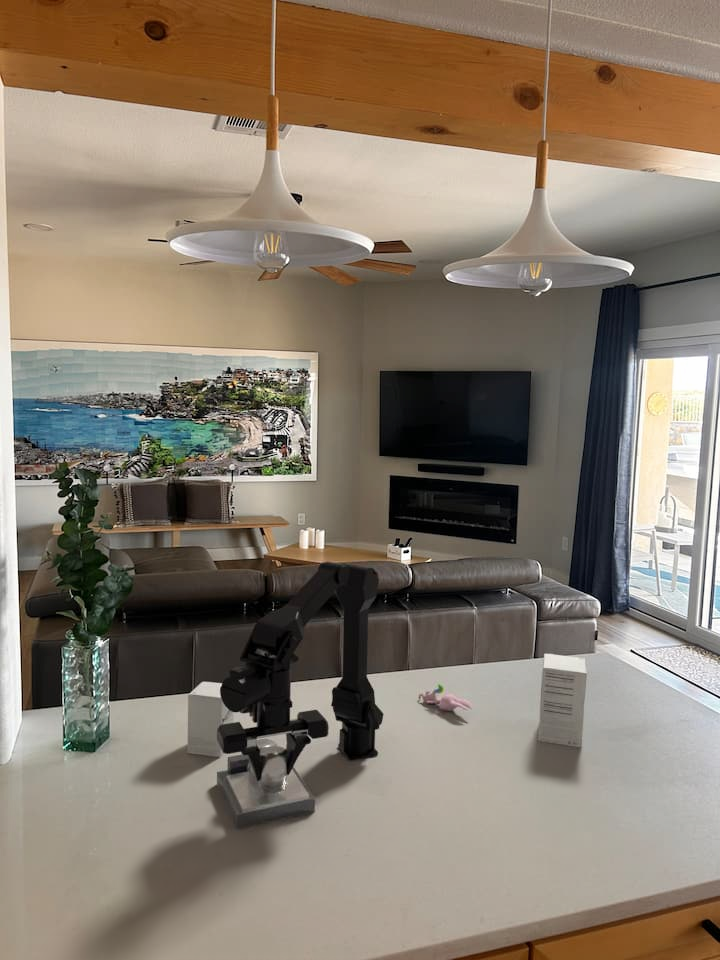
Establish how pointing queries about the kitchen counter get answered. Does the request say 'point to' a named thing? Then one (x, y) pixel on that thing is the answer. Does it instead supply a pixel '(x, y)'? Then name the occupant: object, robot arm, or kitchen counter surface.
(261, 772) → the cylinder
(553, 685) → the supplement box
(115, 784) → the kitchen counter surface
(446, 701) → the rabbit figure
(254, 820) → the dial scale
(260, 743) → the cylinder
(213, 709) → the supplement box
